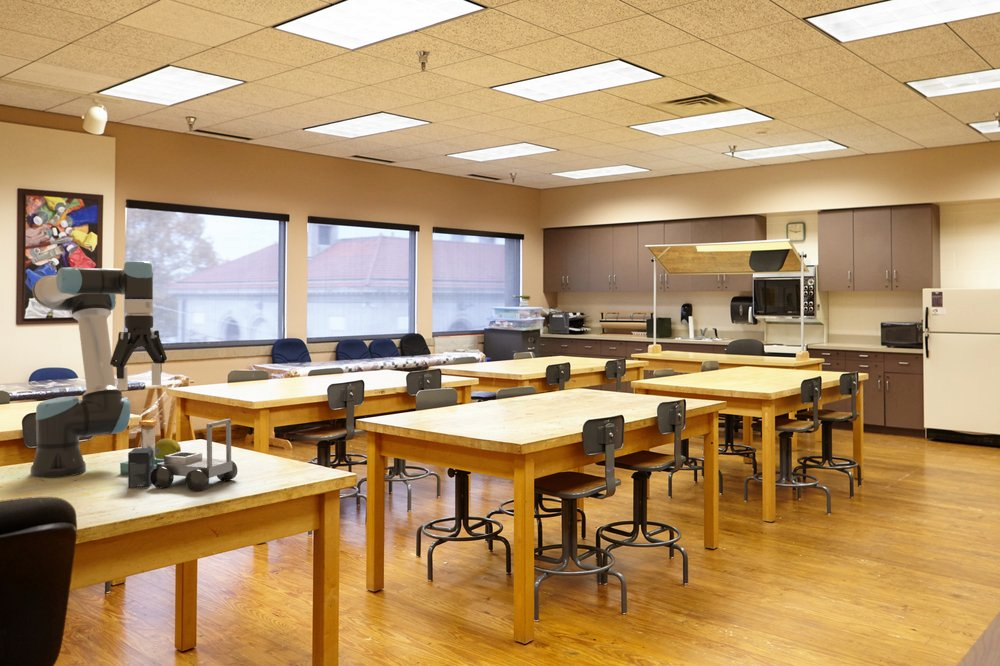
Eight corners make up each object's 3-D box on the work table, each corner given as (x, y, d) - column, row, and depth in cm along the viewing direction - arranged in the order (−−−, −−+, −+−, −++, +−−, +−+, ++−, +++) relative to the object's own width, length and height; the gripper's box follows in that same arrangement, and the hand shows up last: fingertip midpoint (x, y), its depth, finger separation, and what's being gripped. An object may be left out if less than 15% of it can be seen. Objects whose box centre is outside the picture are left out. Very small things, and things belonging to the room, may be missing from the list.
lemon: (148, 461, 270) (148, 438, 269) (171, 458, 275) (170, 435, 275) (163, 466, 262) (162, 442, 262) (186, 463, 268) (186, 439, 268)
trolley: (150, 487, 233) (149, 422, 232) (187, 476, 248) (186, 414, 248) (203, 492, 228) (202, 425, 227) (237, 480, 243) (237, 417, 242)
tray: (120, 474, 251) (120, 463, 251) (141, 468, 259) (140, 457, 259) (155, 477, 247) (155, 465, 247) (175, 471, 256) (174, 460, 255)
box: (148, 488, 233) (148, 451, 232) (127, 489, 231) (127, 452, 231) (154, 482, 240) (154, 447, 240) (134, 483, 239) (133, 447, 239)
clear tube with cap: (135, 470, 251) (135, 421, 251) (146, 467, 256) (146, 419, 256) (149, 471, 250) (149, 422, 249) (160, 468, 255) (160, 420, 254)
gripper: (117, 315, 221) (118, 392, 222) (178, 314, 244) (179, 383, 245) (95, 315, 223) (96, 391, 224) (158, 313, 247) (159, 382, 248)
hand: (140, 387), depth 235 cm, fingers open, 13 cm apart
